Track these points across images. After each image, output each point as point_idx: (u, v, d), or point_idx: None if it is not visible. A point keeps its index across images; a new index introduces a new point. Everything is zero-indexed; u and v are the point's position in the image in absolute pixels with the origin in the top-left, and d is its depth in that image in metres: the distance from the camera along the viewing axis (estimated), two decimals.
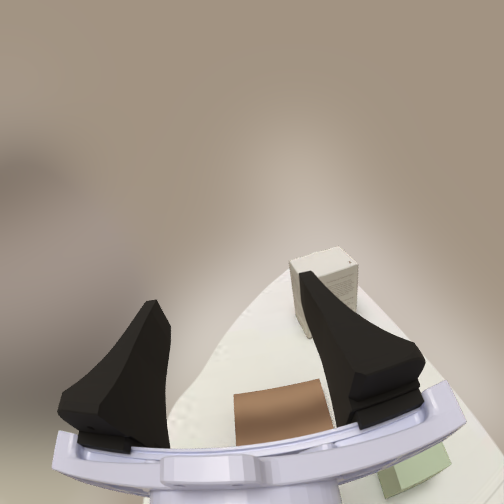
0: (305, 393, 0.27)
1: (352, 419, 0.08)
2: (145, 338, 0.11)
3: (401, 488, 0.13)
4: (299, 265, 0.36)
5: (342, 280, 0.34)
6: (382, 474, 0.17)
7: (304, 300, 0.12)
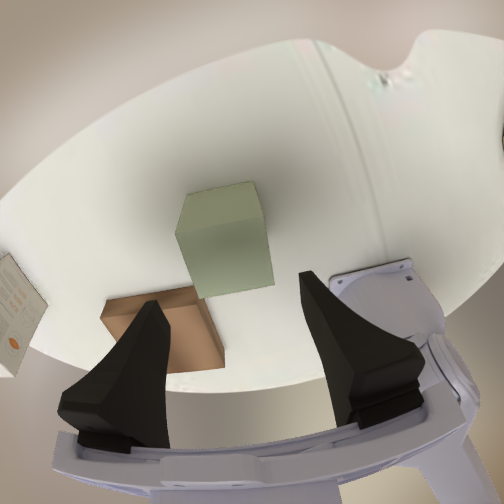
0: (122, 330, 0.24)
1: (352, 419, 0.08)
2: (145, 338, 0.11)
3: (272, 284, 0.18)
4: None
5: None
6: None
7: (304, 300, 0.12)
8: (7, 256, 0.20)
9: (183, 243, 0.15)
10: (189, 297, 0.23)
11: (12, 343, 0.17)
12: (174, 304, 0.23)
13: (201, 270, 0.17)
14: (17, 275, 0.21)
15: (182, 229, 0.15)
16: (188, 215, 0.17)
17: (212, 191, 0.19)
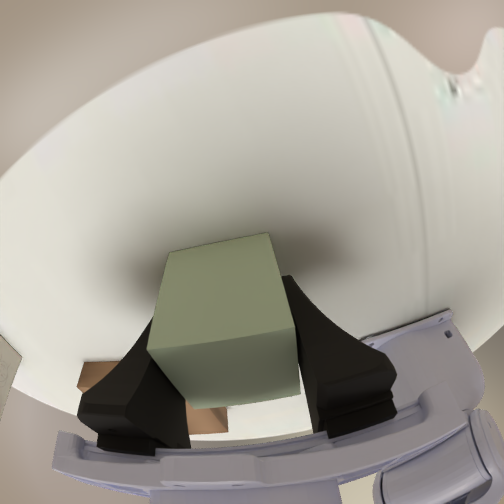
0: None
1: (323, 427, 0.08)
2: None
3: (297, 393, 0.11)
4: None
5: None
6: None
7: None
8: None
9: (162, 360, 0.09)
10: None
11: None
12: None
13: (193, 386, 0.10)
14: None
15: (158, 341, 0.09)
16: (168, 305, 0.10)
17: (206, 251, 0.13)
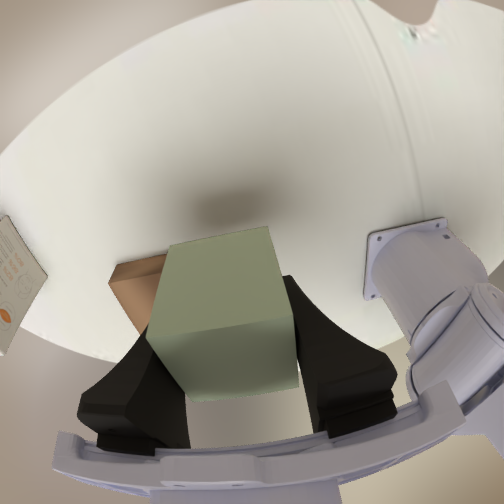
0: (133, 298, 0.21)
1: (323, 427, 0.08)
2: None
3: (295, 386, 0.11)
4: None
5: None
6: None
7: None
8: (5, 218, 0.17)
9: (161, 349, 0.09)
10: None
11: (3, 315, 0.15)
12: None
13: (191, 377, 0.10)
14: (14, 239, 0.18)
15: (157, 329, 0.09)
16: (168, 295, 0.10)
17: (206, 244, 0.13)
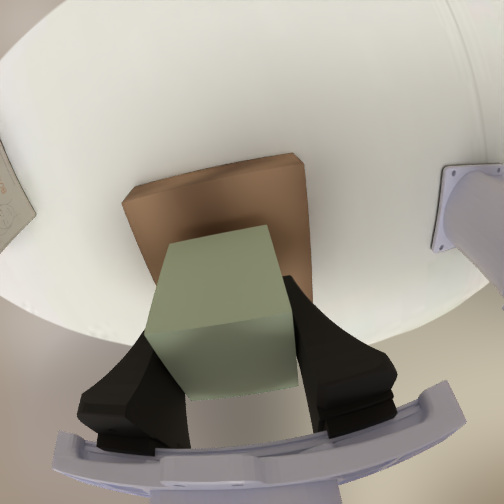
0: (157, 227, 0.15)
1: (323, 427, 0.08)
2: None
3: (295, 384, 0.11)
4: None
5: None
6: None
7: None
8: None
9: (159, 346, 0.09)
10: (286, 160, 0.15)
11: None
12: (263, 167, 0.14)
13: (190, 375, 0.10)
14: (0, 159, 0.12)
15: (156, 326, 0.09)
16: (167, 292, 0.10)
17: (206, 242, 0.13)
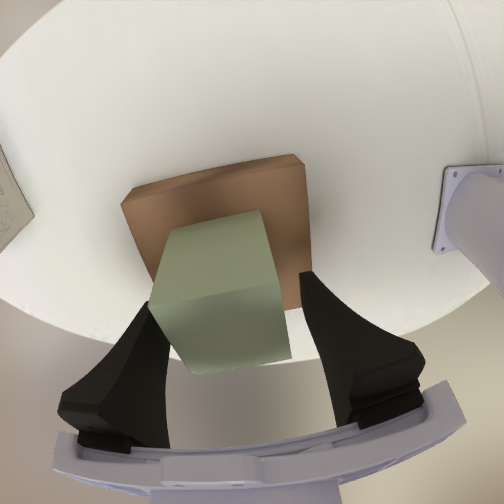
0: (157, 228, 0.15)
1: (352, 419, 0.08)
2: (145, 338, 0.11)
3: None
4: None
5: None
6: None
7: (304, 300, 0.12)
8: None
9: (161, 318, 0.10)
10: (286, 161, 0.14)
11: None
12: (263, 168, 0.14)
13: (190, 347, 0.11)
14: None
15: (158, 298, 0.10)
16: (168, 270, 0.12)
17: (204, 226, 0.14)
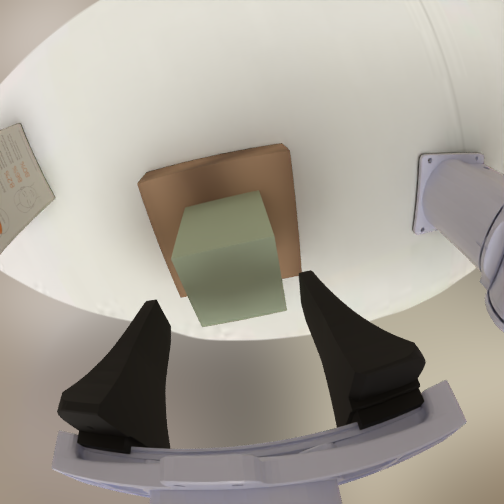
0: (167, 204, 0.18)
1: (352, 419, 0.08)
2: (145, 338, 0.11)
3: (284, 309, 0.16)
4: None
5: None
6: None
7: (304, 300, 0.12)
8: (17, 124, 0.14)
9: (181, 269, 0.13)
10: (275, 148, 0.17)
11: None
12: (256, 154, 0.17)
13: (202, 297, 0.14)
14: (23, 148, 0.15)
15: (179, 253, 0.13)
16: (186, 234, 0.15)
17: (213, 204, 0.17)
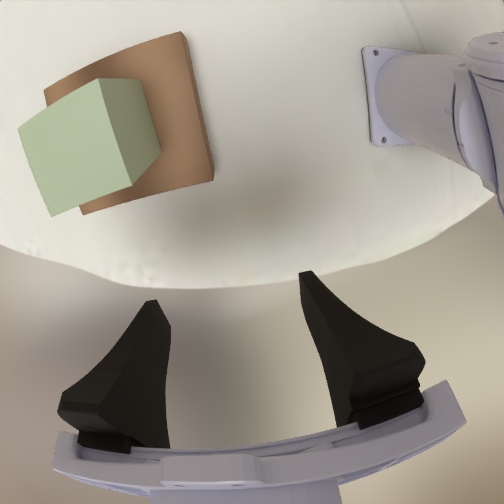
0: None
1: (352, 419, 0.08)
2: (145, 338, 0.11)
3: (129, 185, 0.11)
4: None
5: None
6: None
7: (304, 300, 0.12)
8: None
9: (24, 138, 0.08)
10: None
11: None
12: (148, 42, 0.12)
13: (44, 172, 0.10)
14: None
15: None
16: None
17: None
